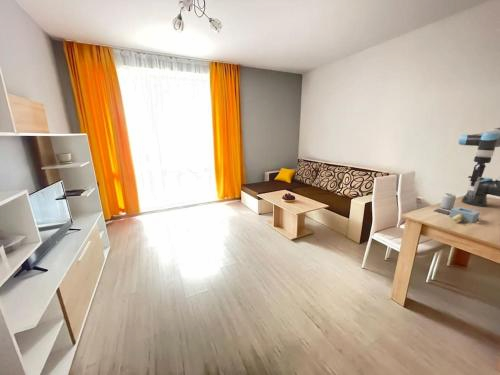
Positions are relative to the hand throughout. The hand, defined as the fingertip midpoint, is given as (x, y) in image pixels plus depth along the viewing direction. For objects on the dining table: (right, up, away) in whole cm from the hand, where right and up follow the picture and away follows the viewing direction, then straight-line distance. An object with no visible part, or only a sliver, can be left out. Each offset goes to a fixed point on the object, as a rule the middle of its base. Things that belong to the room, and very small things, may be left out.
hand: (472, 189), depth 142 cm
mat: (-5, -18, +17) cm, 25 cm away
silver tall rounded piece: (0, -5, +2) cm, 6 cm away
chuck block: (-5, -21, +4) cm, 22 cm away
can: (+5, -16, +24) cm, 30 cm away
